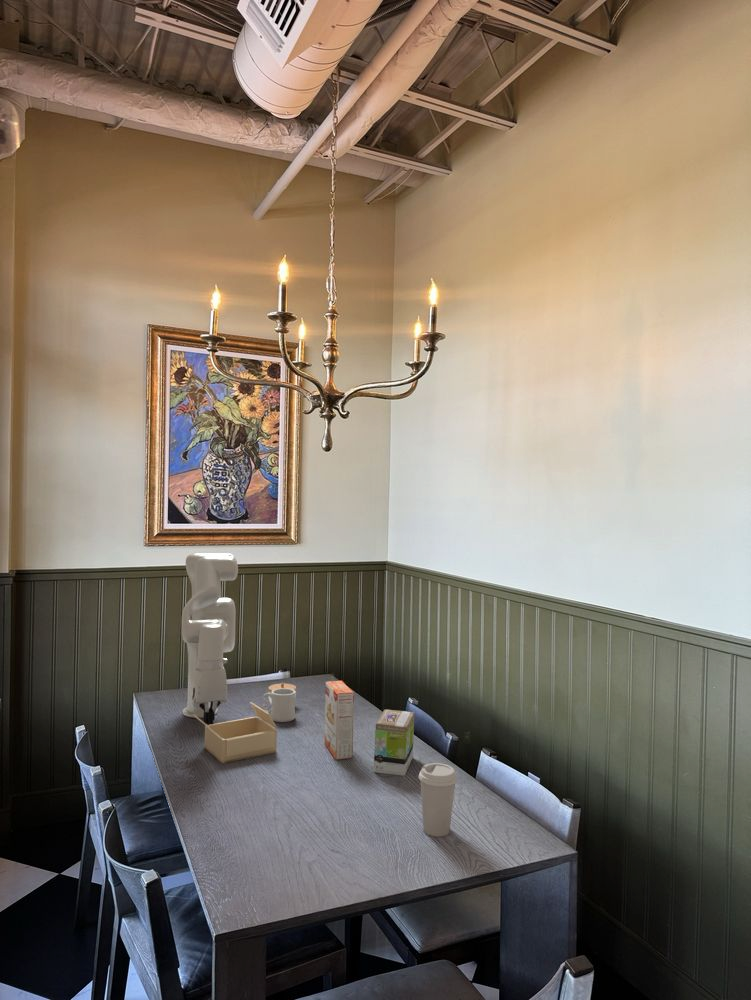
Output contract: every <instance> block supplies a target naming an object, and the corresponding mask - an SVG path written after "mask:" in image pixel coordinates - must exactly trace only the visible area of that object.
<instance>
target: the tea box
mask: <svg viewBox="0 0 751 1000" xmlns="http://www.w3.org/2000/svg"><path fill="white" fill-rule="evenodd" d="M414 732H415V712H413V711H405V710H396V709H395V710H394V709H393V710H392V709H383V712H382V713H381V715H380V716H379V718H378V720H377V721H376V723H375V734H374V735H375V736H374V750H373V751H374V752H373V754H374V755H373V772H374V773H377V774H378V773H379V774H385V775H393V776H403V777H404V776H405V775H406V774H407V771H408V769H409V766H410V765H411V762H412V759H413V755H414V736H415V735H414Z"/></svg>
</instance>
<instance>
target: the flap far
mask: <svg viewBox="0 0 751 1000" xmlns="http://www.w3.org/2000/svg"><path fill="white" fill-rule="evenodd" d="M249 704H250V706H251V707H252V709H253V712H254V713H255V715H256V717H258V718H260V719H261V720H263V721H264V722H266V723H267V724H269V725H270V726H272V727H273V728H275V729H277V725H276V723H275V721H273V720H272V718H271V716H270V714H271V713H268V712H266V711H265V710H263V709H262V708H261V707H260V706H258V705H256V704H255V703H253V702H252V701H249Z"/></svg>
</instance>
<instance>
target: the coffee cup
mask: <svg viewBox="0 0 751 1000" xmlns="http://www.w3.org/2000/svg"><path fill="white" fill-rule="evenodd" d="M418 780H419V781H420V794H421V810H422V812H421V813H422V814H421V815H422V827H423V828H422V829H423V832H424V833H425V834H427V835H428V836H431V837H437V838H438V837H439V838H440V837H446V836H447V835H449V833H450V832H451V822H452V814H453V806H454V805H453V803H454V797H455V790H456V789H455V787H456V783H457V782H458V775H457V773H456V772H455V769H454V768H453V767H452V766H451V765H449V764H444V763H440V762H433V763H427V764H425V765H423V766H422V767H421V770H420V771H419V774H418Z"/></svg>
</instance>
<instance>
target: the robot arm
mask: <svg viewBox="0 0 751 1000" xmlns="http://www.w3.org/2000/svg"><path fill="white" fill-rule="evenodd" d="M185 569H186V573H187V576H188V578H189V581H190V584H191V585H190V586H191V598H190V599H189V600H188V601H187V603H186V604H185V606H184V607H183V610H182V614H181V637H182V640H183V642H185V643H186V647H187V659H188V661H187V665H188V668H187V706H186V707H184V708H183V709H182V715H183V716H185V717H187V718H193V719H195V718H196V717H194V716H193V714H194V715H195V716H197V717H198V718H199V719H201V718H203V719H202V721H203V722H204V723H205V724H207V725H210V724H211V725H212V724H214V721H215V717H216V716H215V715H216V714H218V712H219V709H218V707H220V705H221V704H224V703H226V702H227V695H228V694H227V693H228V682H227V681H228V680H227V673H226V669H225V666H224V664H227V663H228V659H227V658H224V653H229V652H232V651H233V650H234V648H235V645H236V618H237V617H236V614H237V613H236V605H235V601H234V599H232V598H229V597H222V585H221V584H222V583H221V582H222V581H225V582H226V581H235V580H236V579H237V577H238V573H239V565H238V561H237V559H236V557H235V556H234V554H232V553H223V552H222V553H217V552H216V553H215V552H214V553H212V552H211V553H210V552H209V553H208V552H198V553H196V552H195V553H191V554H188V555H187V556H186V559H185ZM196 719H197V718H196Z"/></svg>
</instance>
